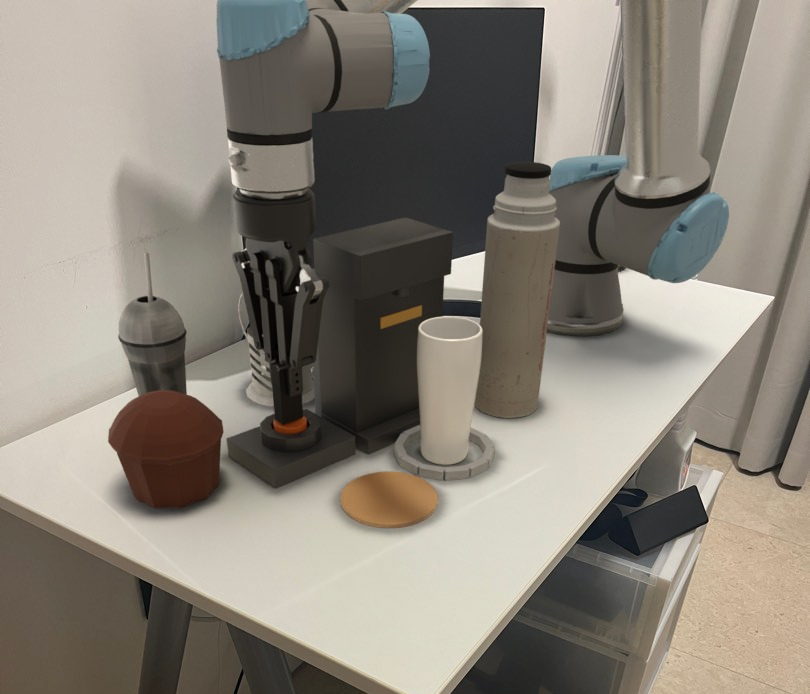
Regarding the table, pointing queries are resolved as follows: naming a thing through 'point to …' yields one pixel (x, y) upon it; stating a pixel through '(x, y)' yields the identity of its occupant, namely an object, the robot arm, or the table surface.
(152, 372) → the beverage cup
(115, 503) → the table surface
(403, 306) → the coffee maker
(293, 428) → the power button
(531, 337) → the thermos bottle
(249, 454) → the power switch
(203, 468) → the muffin
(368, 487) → the disc
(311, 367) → the french press
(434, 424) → the drinking glass
